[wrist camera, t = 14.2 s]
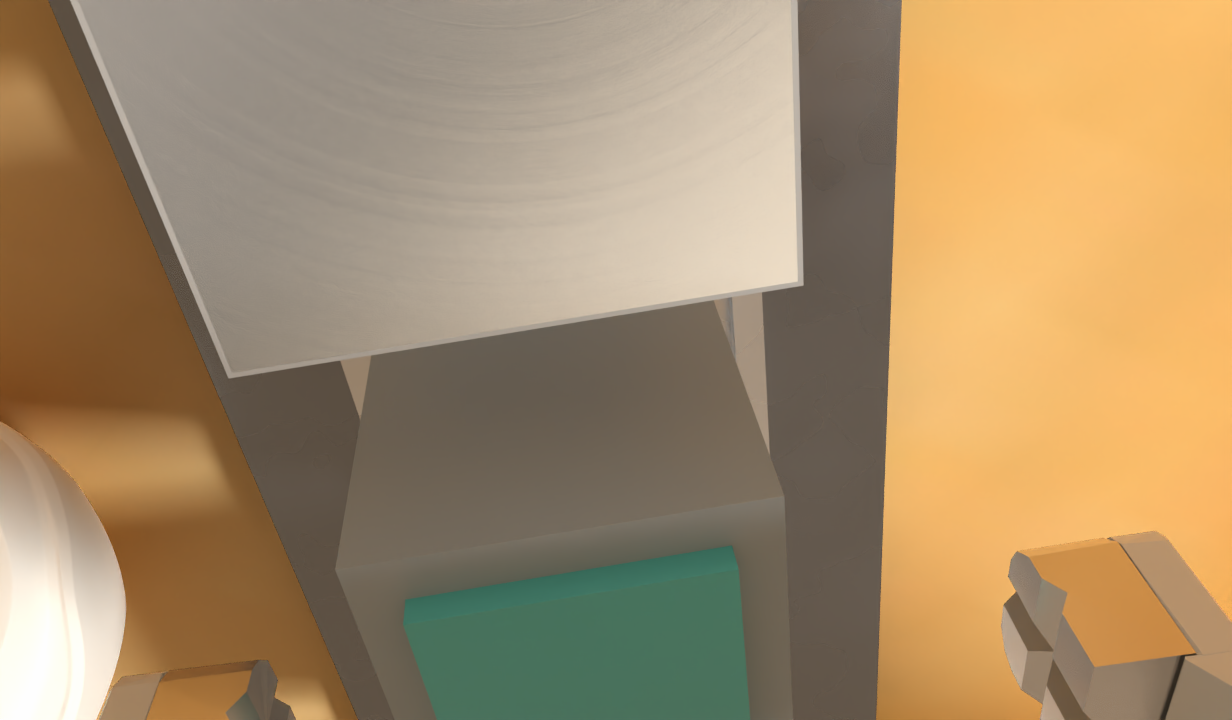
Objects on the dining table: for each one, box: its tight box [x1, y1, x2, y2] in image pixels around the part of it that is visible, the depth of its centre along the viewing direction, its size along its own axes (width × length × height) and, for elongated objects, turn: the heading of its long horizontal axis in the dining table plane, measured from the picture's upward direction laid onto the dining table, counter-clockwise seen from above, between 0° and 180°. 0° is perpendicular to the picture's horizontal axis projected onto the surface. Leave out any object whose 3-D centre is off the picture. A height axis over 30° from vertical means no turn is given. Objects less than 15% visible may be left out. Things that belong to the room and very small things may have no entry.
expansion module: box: [335, 300, 793, 720], centre depth 14 cm, size 4×6×8 cm, turn 7°
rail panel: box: [48, 0, 902, 720], centre depth 18 cm, size 12×28×2 cm, turn 7°
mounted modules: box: [70, 0, 804, 378], centre depth 14 cm, size 5×21×7 cm, turn 7°
